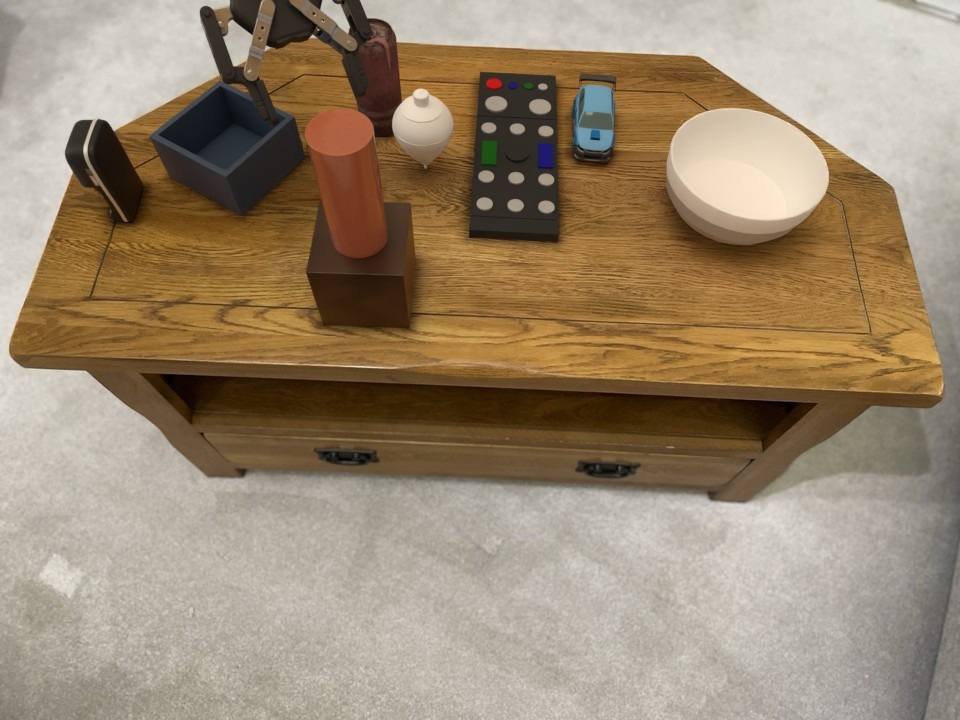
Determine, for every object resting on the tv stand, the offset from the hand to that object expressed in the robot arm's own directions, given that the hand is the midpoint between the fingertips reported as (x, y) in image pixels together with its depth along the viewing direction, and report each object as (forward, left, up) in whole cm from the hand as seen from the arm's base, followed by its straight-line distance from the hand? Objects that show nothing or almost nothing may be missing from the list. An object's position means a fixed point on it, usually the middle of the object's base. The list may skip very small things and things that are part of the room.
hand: (319, 110), depth 62 cm
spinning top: (+18, +1, -22) cm, 28 cm away
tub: (+4, +22, -22) cm, 32 cm away
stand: (-3, -5, -22) cm, 23 cm away
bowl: (+33, -36, -22) cm, 53 cm away
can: (+22, +11, -22) cm, 33 cm away
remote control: (+27, -8, -22) cm, 36 cm away
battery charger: (-9, +30, -22) cm, 38 cm away
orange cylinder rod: (-3, -5, -12) cm, 13 cm away
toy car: (+36, -15, -22) cm, 45 cm away
